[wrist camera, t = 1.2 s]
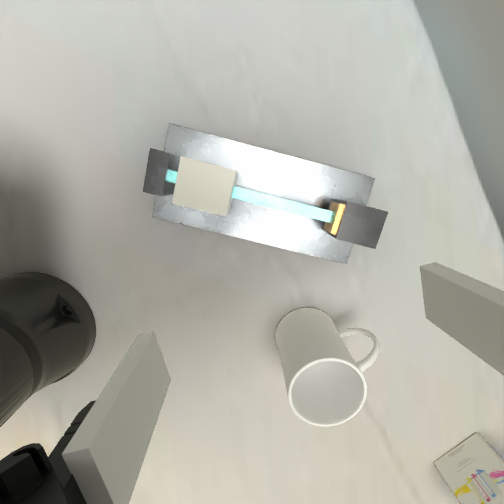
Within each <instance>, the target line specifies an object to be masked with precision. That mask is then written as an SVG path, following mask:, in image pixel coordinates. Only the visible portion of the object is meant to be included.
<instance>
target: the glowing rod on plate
mask: <svg viewBox="0 0 504 504" xmlns="http://www.w3.org/2000/svg"><path fill="white" fill-rule="evenodd" d="M181 156H182V157H185V158H189V159H193V160H197V161H201V162H205V163H208V164H212V165H216V166H220V167H224V168H228V169H231V170H235V171H237V172H238V176H237V180H236V184H235V186H234V188H233V193H232V197H231V198H232V201H231V206H230V210H229V211H228V213H227V215H226V217H225V216H221V215H217V214H213V213H209V212H205V211H201V210H197V209H193V208H189V207H185V206H181V205H177V204H173V203H172V199H173V194H174V189H175V184H176V179H177V173H178V168H179V163H180V158H181ZM374 180H375V178H372V177H368V176H364V175H361V174H357V173H353V172H349V171H346V170H342V169H338V168H334V167H331V166H327V165H323V164H319V163H316V162H312V161H308V160H304V159H301V158H297V157H293V156H290V155H286V154H282V153H278V152H275V151H271V150H267V149H263V148H260V147H256V146H252V145H248V144H245V143H241V142H237V141H233V140H230V139H226V138H222V137H219V136H215V135H211V134H207V133H204V132H200V131H196V130H192V129H189V128H185V127H181V126H177V125H174V124H170V123H169V126H168V132H167V138H166V143H165V149H164V152H163V151H159V150H155V149H152V148H150V153H149V158H148V164H147V170H146V176H145V182H144V188H143V192H147V193H151V194H155V195H156V199H155V204H154V210H153V216H152V217H156V218H160V219H164V220H168V221H172V222H176V223H180V224H184V225H188V226H192V227H197V228H201V229H205V230H209V231H213V232H217V233H221V234H225V235H229V236H233V237H237V238H242V239H246V240H250V241H254V242H258V243H262V244H266V245H270V246H274V247H278V248H282V249H287V250H291V251H295V252H299V253H303V254H307V255H311V256H315V257H319V258H323V259H327V260H332V261H336V262H340V263H344V264H347V261H348V258H349V255H350V252H351V249H352V246H353V243H354V244H358V245H362V246H366V247H370V248H374V249H375V248H376V245H377V243H378V240H379V237H380V234H381V231H382V228H383V225H384V223H385V220H386V217H387V214H388V212H386V211H382V210H379V209H375V208H371V207H367V206H366V204H367V201H368V198H369V195H370V192H371V189H372V186H373V183H374Z"/></svg>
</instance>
